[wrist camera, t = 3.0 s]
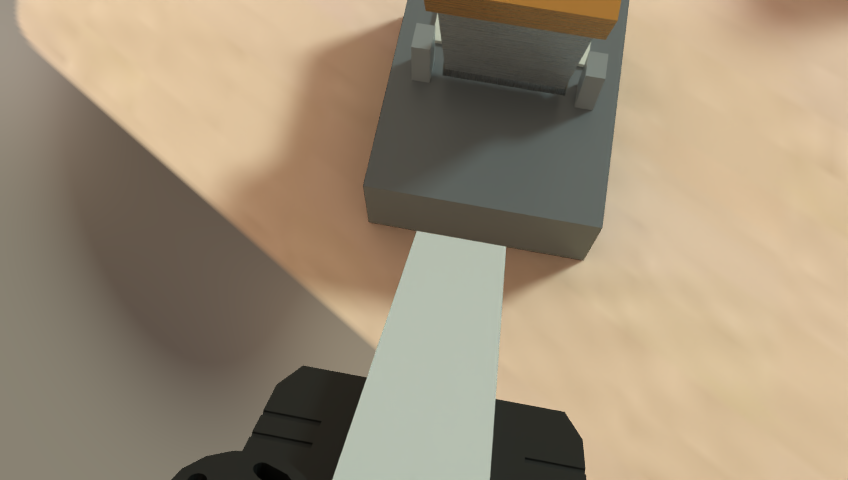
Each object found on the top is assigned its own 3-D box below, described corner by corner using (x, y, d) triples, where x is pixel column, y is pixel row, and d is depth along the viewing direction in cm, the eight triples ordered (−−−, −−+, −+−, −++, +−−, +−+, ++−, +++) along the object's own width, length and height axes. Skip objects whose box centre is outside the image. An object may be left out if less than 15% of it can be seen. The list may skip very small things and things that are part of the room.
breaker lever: (566, 102, 34) (617, 20, 22) (438, 81, 34) (421, -11, 23) (574, 57, 34) (630, -49, 22) (446, 36, 34) (434, -80, 23)
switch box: (583, 260, 36) (616, 203, 30) (368, 221, 37) (358, 158, 31) (610, 41, 40) (644, -47, 34) (418, 10, 41) (417, -82, 35)
